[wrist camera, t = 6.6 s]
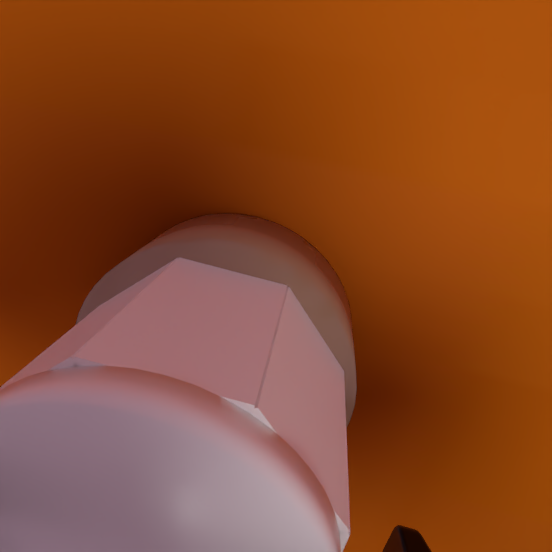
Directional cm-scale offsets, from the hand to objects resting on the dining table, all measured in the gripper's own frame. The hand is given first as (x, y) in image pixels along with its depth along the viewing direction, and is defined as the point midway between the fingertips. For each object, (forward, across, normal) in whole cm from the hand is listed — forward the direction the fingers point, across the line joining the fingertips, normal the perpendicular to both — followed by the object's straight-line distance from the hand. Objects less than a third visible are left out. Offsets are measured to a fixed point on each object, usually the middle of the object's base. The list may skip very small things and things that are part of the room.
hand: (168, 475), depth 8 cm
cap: (+3, 0, 0) cm, 3 cm away
